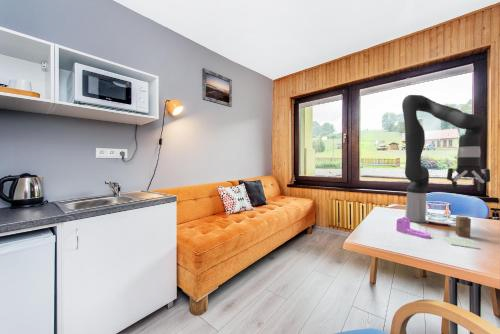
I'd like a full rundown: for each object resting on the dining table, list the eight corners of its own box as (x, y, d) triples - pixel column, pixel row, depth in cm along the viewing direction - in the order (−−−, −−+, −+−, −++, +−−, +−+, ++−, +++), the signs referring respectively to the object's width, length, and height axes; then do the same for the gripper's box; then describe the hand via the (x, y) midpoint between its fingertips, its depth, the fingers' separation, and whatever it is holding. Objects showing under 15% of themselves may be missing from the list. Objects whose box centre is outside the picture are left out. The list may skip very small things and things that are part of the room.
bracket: (396, 231, 108) (396, 217, 108) (401, 229, 111) (402, 216, 110) (427, 239, 97) (428, 224, 96) (432, 237, 100) (432, 222, 99)
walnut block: (458, 236, 100) (459, 217, 100) (455, 233, 103) (456, 216, 103) (470, 238, 98) (470, 219, 98) (466, 235, 101) (467, 217, 101)
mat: (450, 244, 90) (451, 243, 90) (443, 237, 99) (443, 236, 99) (480, 249, 86) (480, 248, 86) (470, 240, 94) (470, 240, 94)
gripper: (451, 156, 100) (449, 190, 100) (494, 156, 92) (492, 192, 93) (446, 156, 106) (444, 188, 107) (486, 156, 99) (484, 190, 100)
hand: (467, 190), depth 100 cm, fingers open, 8 cm apart
